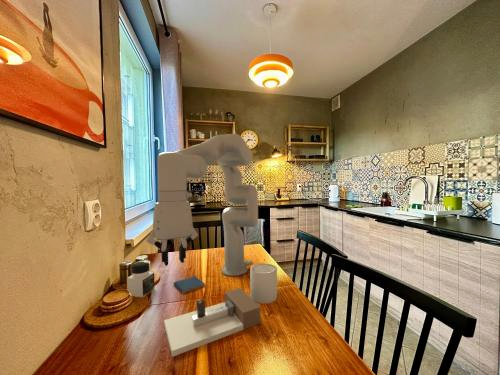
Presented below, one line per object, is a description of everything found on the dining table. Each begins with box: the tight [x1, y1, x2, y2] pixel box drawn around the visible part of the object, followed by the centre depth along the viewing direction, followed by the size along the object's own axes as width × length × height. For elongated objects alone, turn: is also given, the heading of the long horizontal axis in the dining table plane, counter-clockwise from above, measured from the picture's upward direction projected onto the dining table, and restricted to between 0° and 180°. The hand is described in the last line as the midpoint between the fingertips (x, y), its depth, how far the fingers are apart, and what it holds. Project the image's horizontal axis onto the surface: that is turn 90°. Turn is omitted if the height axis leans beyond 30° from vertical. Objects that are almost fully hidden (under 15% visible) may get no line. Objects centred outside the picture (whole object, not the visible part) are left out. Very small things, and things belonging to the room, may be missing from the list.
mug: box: [249, 263, 278, 304], centre depth 84 cm, size 14×10×11 cm
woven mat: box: [172, 275, 206, 295], centre depth 92 cm, size 10×11×2 cm
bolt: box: [192, 299, 229, 326], centre depth 66 cm, size 12×2×6 cm, turn 119°
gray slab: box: [163, 287, 261, 358], centre depth 66 cm, size 26×14×5 cm, turn 119°
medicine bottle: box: [126, 260, 156, 298], centre depth 86 cm, size 7×7×12 cm
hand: (173, 262), depth 61 cm, fingers open, 3 cm apart
